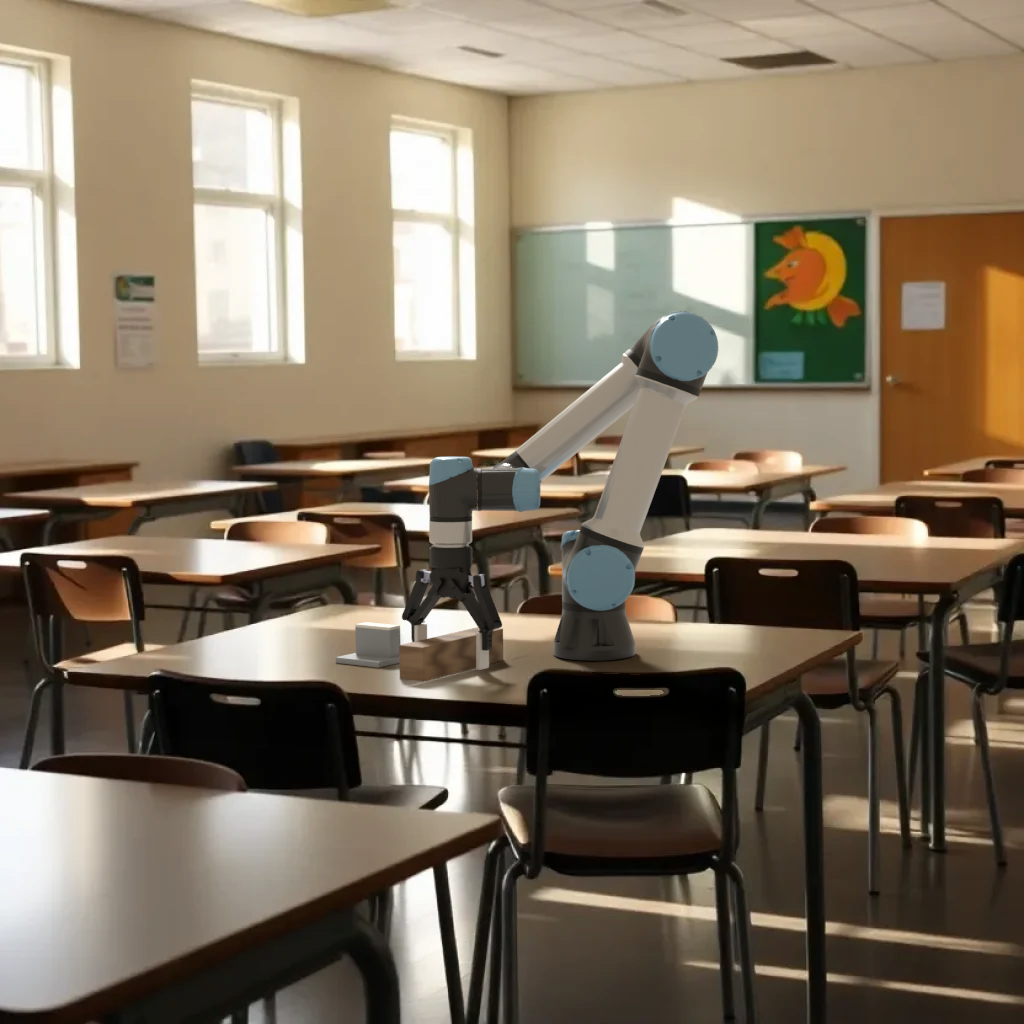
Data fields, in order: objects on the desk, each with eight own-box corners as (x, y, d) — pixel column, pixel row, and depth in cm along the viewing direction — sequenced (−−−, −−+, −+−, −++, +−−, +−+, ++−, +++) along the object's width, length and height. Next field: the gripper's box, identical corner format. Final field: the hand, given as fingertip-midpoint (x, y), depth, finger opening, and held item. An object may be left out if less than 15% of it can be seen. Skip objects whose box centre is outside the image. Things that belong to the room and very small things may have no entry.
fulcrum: (420, 657, 317) (419, 622, 316) (378, 667, 307) (377, 631, 306) (378, 653, 322) (377, 618, 322) (335, 662, 313) (334, 627, 312)
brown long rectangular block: (480, 659, 316) (480, 626, 316) (503, 661, 313) (502, 628, 313) (399, 679, 296) (399, 645, 296) (423, 682, 294) (422, 647, 293)
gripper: (521, 547, 299) (521, 668, 301) (408, 539, 313) (408, 655, 315) (496, 551, 293) (496, 675, 295) (382, 542, 307) (382, 660, 309)
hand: (451, 664), depth 305 cm, fingers open, 13 cm apart
